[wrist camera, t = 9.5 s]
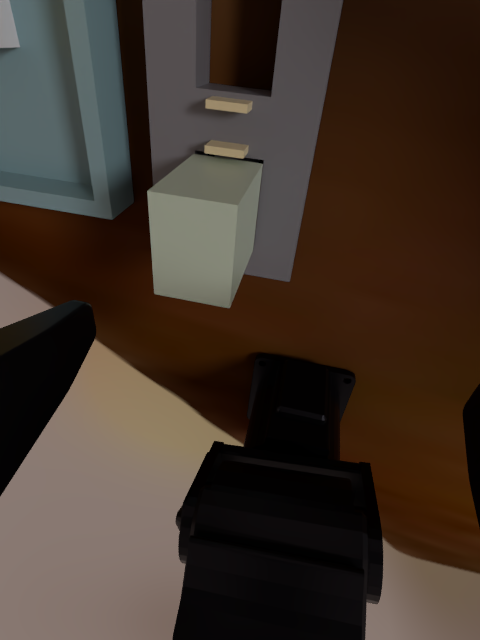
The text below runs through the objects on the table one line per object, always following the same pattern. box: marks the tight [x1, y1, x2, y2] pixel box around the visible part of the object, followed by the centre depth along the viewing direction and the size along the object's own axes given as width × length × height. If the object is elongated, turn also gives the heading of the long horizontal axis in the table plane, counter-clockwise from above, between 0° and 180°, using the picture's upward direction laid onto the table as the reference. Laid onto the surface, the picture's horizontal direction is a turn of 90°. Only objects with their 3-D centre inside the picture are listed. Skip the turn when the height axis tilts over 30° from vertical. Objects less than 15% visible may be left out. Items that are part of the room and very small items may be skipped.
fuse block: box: [142, 0, 343, 282], centre depth 14 cm, size 20×7×3 cm, turn 176°
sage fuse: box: [147, 154, 263, 308], centre depth 16 cm, size 4×3×7 cm
